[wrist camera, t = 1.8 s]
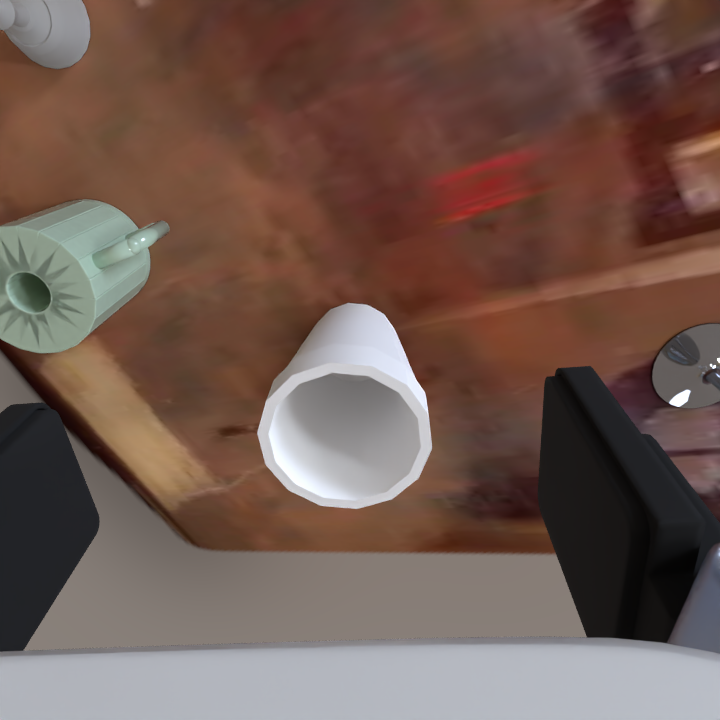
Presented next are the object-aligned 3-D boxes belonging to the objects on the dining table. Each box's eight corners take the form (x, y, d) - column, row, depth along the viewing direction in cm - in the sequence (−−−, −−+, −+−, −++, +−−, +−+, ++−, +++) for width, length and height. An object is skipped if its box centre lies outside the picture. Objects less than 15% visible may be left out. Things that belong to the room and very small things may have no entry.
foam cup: (270, 360, 43) (229, 462, 31) (329, 259, 39) (307, 331, 27) (376, 415, 44) (375, 531, 33) (441, 323, 41) (466, 417, 29)
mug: (82, 318, 42) (16, 369, 34) (20, 223, 39) (-69, 256, 31) (205, 268, 40) (163, 311, 32) (149, 164, 37) (88, 183, 29)
